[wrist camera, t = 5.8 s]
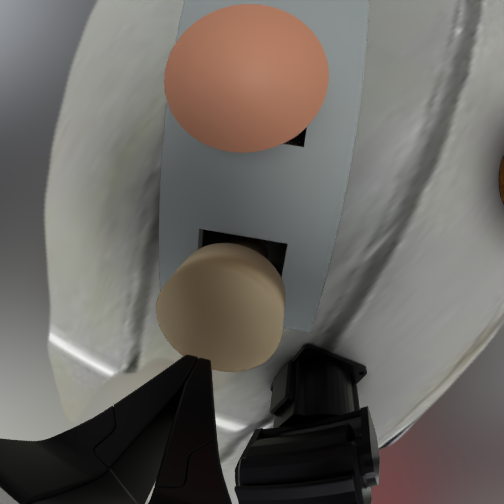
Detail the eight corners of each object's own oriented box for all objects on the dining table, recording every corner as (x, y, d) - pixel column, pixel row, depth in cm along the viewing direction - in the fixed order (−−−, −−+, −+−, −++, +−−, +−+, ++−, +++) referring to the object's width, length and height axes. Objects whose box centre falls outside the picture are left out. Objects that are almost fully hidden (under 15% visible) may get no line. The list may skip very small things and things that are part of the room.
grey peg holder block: (355, -31, 11) (367, -68, 6) (309, 289, 21) (310, 332, 16) (226, -42, 12) (206, -78, 7) (188, 267, 21) (160, 302, 17)
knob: (296, 220, 17) (294, 281, 10) (281, 297, 19) (270, 381, 12) (209, 207, 17) (154, 255, 10) (204, 282, 19) (160, 356, 12)
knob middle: (319, 65, 13) (335, 13, 6) (307, 152, 15) (316, 164, 8) (227, 55, 14) (177, 6, 7) (216, 140, 16) (156, 145, 9)
